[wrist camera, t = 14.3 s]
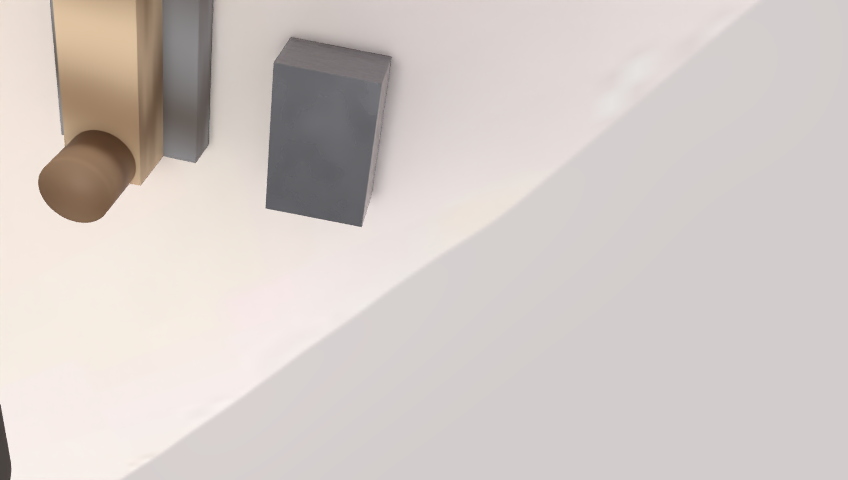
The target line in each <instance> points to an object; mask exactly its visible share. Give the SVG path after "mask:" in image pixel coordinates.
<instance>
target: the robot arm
mask: <svg viewBox="0 0 848 480" xmlns="http://www.w3.org/2000/svg"><path fill="white" fill-rule="evenodd" d="M10 477H11V461H10V455H9V450H8V444H7V438H6V433H5V427H4V422H3V416H2V410H1V405H0V480H10Z"/></svg>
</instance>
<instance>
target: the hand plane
mask: <svg viewBox="0 0 848 480" xmlns="http://www.w3.org/2000/svg"><path fill="white" fill-rule="evenodd" d="M50 7H51V19H52V30H53V42H54V53H55V64H56V76H57V87H58V98H59V110H60V121H61V132H62V135H64V140H65V147H64V148H63V149H62V150H61V151H60V152H59V153H58V154H57V155H56V156H55V157H54V158H53V159H52V160H51V161H50V162H49V163H48V164H47V165H46V166H45V167H44V169H43V170H42V171H41V173H40V175H39V180H38V185H39V190H40V193H41V195H42V197H43V199H44V200H45V202H46V203H47V204H48V206H49V207H50V208H51V209H53V210H54V211H55V212H56V213H58V214H59V215H61V216H62V217H64V218H66V219H69V220H72V221H75V222H81V223H88V222H94V221H96V220H98V219H100V218H102V217H103V216H104V215H105V214H106V212H107V211H108V210H109V209H110V207H111V206H112V205H113V204H114V202H115V201H116V200H117V199H118V197H119V196H120V195H121V193H122V192H123V191H124V190H125V188H126V187H127V186H128V185H129V183H130V184H135V185H140V186H141V184H142V183H143V182H144V180H145V179H146V178H147V177H148V175H149V174H150V173H151V171H152V170H153V169H154V167H155V166H156V165H157V164H158V162H159V161H160V160H161V158H162V157H163V156H166V157H170V158H175V159H180V160H184V161H189V162H194V163H196V162H197V161H198V159H199V158H200V156H201V155H202V153H203V152H204V150H205V149H206V148H207V146H208V141H209V109H210V76H211V44H212V12H213V0H50Z"/></svg>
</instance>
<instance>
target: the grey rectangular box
mask: <svg viewBox="0 0 848 480" xmlns="http://www.w3.org/2000/svg"><path fill="white" fill-rule="evenodd" d="M391 59H392V57H391V56H385V55H380V54H375V53H370V52H365V51H360V50H355V49H349V48H344V47H339V46H334V45H329V44H324V43H319V42H313V41H308V40H303V39H298V38H293V37H291V38H290V39H289V41H288V42H287V44H286V45H285V47H284V48H283V50H282V51H281V53H280V54H279V56H278V57H277V59H276V60H275V62H274V68H273V86H272V104H271V122H270V140H269V158H268V176H267V194H266V208H267V209H272V210H277V211H282V212H287V213H293V214H298V215H303V216H308V217H313V218H318V219H323V220H329V221H334V222H339V223H344V224H349V225H354V226H359V227H362V225H363V221H364V218H365V215H366V212H367V208H368V205H369V202H370V199H371V195H372V190H373V183H374V176H375V169H376V162H377V155H378V148H379V142H380V135H381V128H382V121H383V114H384V107H385V100H386V93H387V87H388V80H389V73H390V66H391Z"/></svg>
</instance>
